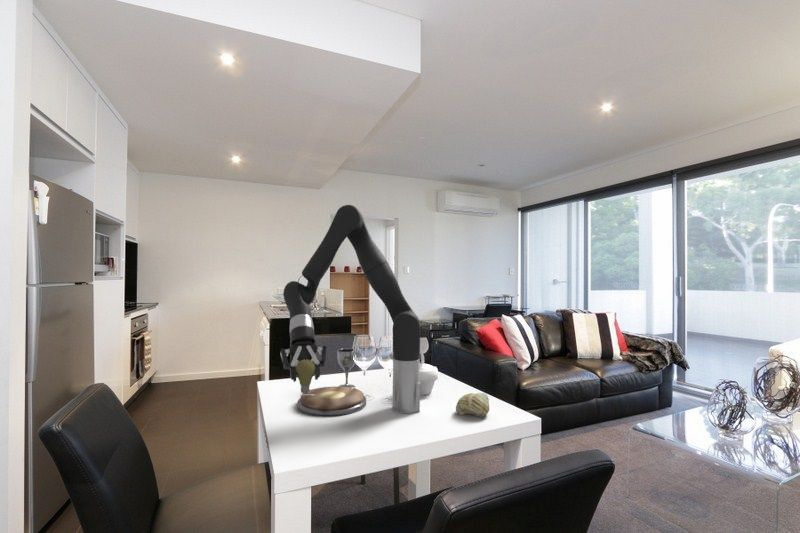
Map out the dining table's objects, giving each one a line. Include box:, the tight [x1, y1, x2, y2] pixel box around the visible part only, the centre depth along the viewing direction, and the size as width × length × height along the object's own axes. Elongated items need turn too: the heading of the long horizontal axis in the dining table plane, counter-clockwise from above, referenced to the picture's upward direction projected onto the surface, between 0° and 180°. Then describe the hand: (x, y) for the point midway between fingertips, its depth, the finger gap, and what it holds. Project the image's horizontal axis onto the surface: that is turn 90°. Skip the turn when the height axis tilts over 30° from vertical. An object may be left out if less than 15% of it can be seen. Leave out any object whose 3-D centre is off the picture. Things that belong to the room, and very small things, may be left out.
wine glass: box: [336, 347, 356, 388], centre depth 157 cm, size 8×8×15 cm
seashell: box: [455, 392, 490, 417], centre depth 127 cm, size 10×10×10 cm
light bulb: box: [296, 359, 315, 394], centre depth 112 cm, size 6×6×10 cm
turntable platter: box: [299, 386, 365, 410], centre depth 135 cm, size 22×22×2 cm
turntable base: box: [296, 395, 367, 418], centre depth 135 cm, size 24×24×2 cm
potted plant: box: [419, 334, 439, 396], centre depth 150 cm, size 13×12×25 cm
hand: (306, 378), depth 110 cm, fingers closed on light bulb, 5 cm apart
